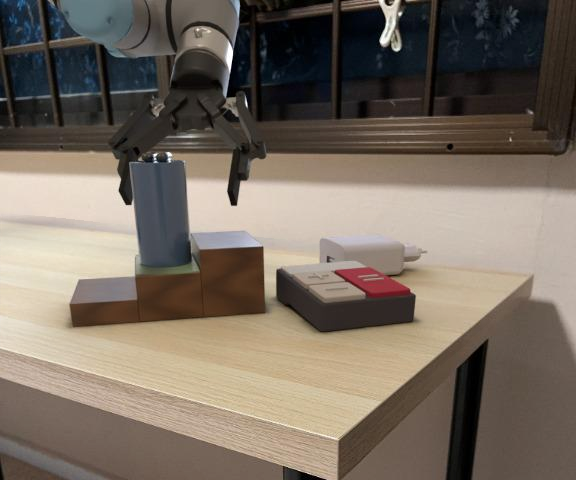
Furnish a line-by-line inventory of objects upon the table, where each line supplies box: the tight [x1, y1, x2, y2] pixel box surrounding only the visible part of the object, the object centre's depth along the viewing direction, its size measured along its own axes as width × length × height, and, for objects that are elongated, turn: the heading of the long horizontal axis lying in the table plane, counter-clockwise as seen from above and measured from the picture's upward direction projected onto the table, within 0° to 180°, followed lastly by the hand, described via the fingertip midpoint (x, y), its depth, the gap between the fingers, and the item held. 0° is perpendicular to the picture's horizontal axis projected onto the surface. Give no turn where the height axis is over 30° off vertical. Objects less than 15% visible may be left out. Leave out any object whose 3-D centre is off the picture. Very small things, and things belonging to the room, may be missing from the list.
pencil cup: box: [129, 151, 192, 267], centre depth 68 cm, size 6×6×12 cm
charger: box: [318, 233, 428, 276], centre depth 89 cm, size 5×9×15 cm
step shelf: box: [68, 230, 266, 327], centre depth 71 cm, size 21×12×8 cm, turn 103°
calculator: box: [275, 261, 417, 333], centre depth 70 cm, size 11×4×15 cm
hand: (177, 198), depth 75 cm, fingers open, 13 cm apart
